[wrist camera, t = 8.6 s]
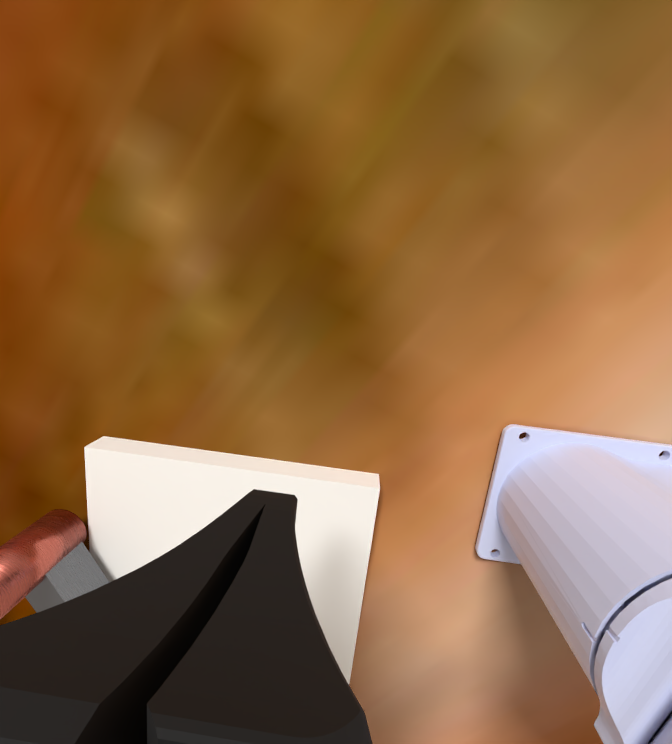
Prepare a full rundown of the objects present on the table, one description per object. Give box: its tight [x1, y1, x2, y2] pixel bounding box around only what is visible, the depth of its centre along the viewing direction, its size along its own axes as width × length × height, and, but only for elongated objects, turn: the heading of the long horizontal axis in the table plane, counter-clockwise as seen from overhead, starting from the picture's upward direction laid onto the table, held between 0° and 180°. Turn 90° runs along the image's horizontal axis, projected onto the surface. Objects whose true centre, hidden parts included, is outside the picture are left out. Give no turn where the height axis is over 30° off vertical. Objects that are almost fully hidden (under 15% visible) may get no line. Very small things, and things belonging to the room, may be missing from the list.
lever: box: [0, 509, 109, 619], centre depth 19 cm, size 21×4×5 cm, turn 25°
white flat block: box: [84, 436, 380, 685], centre depth 21 cm, size 16×22×4 cm
